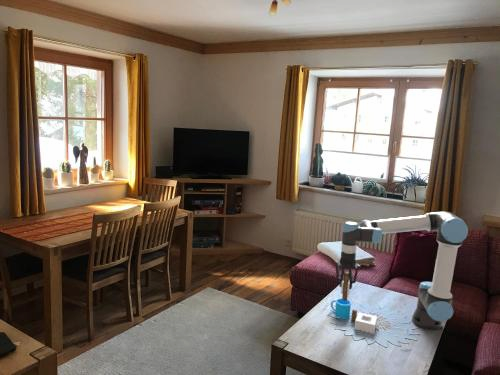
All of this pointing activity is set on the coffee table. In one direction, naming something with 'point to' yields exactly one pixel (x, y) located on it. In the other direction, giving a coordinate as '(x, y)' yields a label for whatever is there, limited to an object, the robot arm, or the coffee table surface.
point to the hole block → (366, 322)
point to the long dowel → (345, 286)
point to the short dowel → (354, 315)
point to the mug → (342, 308)
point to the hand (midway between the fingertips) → (345, 293)
